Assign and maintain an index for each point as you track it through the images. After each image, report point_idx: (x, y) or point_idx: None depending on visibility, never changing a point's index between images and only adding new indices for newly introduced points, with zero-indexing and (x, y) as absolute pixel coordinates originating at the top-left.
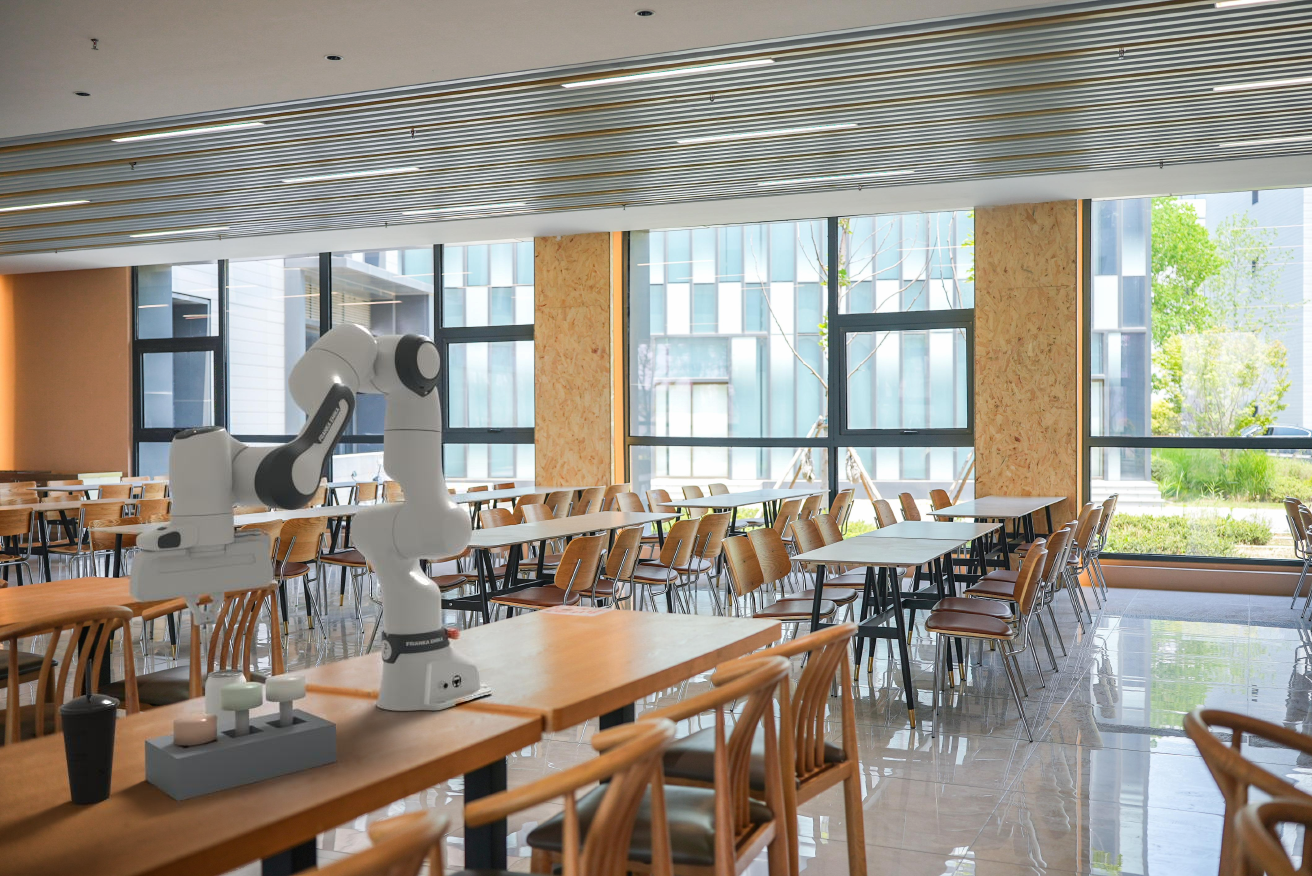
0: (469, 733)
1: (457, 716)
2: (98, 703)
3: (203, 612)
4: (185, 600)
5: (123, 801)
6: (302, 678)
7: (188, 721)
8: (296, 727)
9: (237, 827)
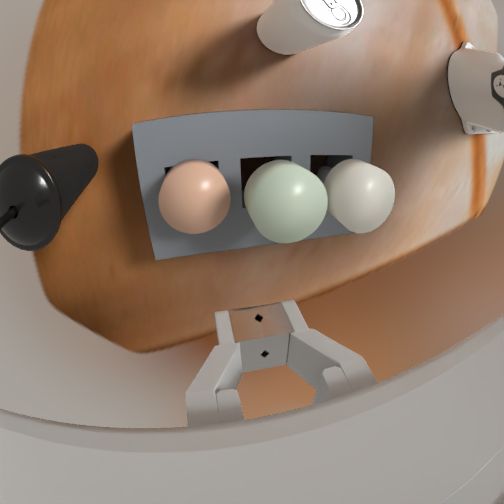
0: (437, 218)
1: (461, 163)
2: (33, 241)
3: (256, 356)
4: (187, 406)
5: (109, 197)
6: (381, 222)
7: (181, 207)
8: (326, 214)
9: (194, 326)
